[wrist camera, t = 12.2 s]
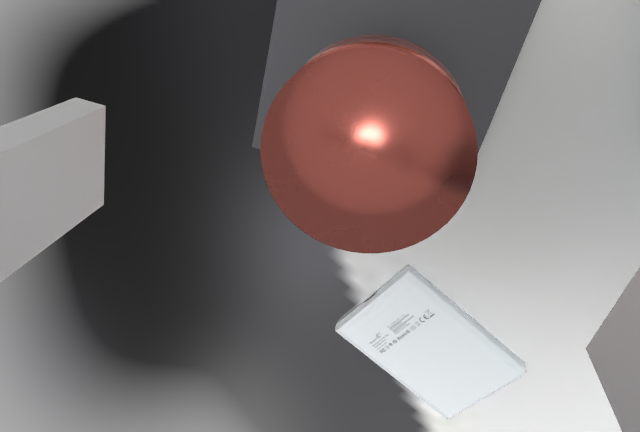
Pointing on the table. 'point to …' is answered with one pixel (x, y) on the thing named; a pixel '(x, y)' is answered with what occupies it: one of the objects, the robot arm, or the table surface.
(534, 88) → the table surface
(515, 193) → the table surface
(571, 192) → the table surface
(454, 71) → the rubber mat
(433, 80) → the copper round-headed piece
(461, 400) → the external hard drive
